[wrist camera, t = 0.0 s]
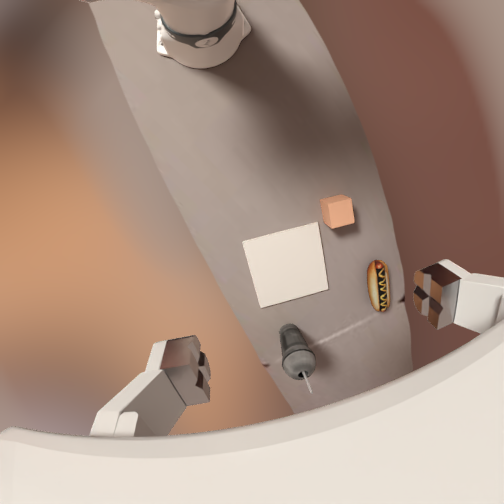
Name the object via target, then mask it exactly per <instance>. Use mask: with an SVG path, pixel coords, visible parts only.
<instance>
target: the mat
mask: <svg viewBox="0 0 504 504" xmlns="http://www.w3.org/2000/svg"><path fill="white" fill-rule="evenodd" d="M242 243H243V246H244V250H245V254H246V257H247V261H248V264H249V268H250V272H251V275H252V279H253V283H254V286H255V290H256V293H257V297H258V301H259V304H260V308H263V307H267V306H270V305H274V304H278V303H281V302H285V301H289V300H292V299H296V298H299V297H303V296H306V295H310V294H313V293H317V292H320V291H324V290H327V289H328V283H327V276H326V269H325V263H324V256H323V250H322V244H321V238H320V232H319V226H318V222H315V223H311V224H307V225H303V226H299V227H296V228H292V229H288V230H284V231H280V232H276V233H273V234H269V235H265V236H261V237H257V238H254V239H250V240H246V241H242Z"/></svg>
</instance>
